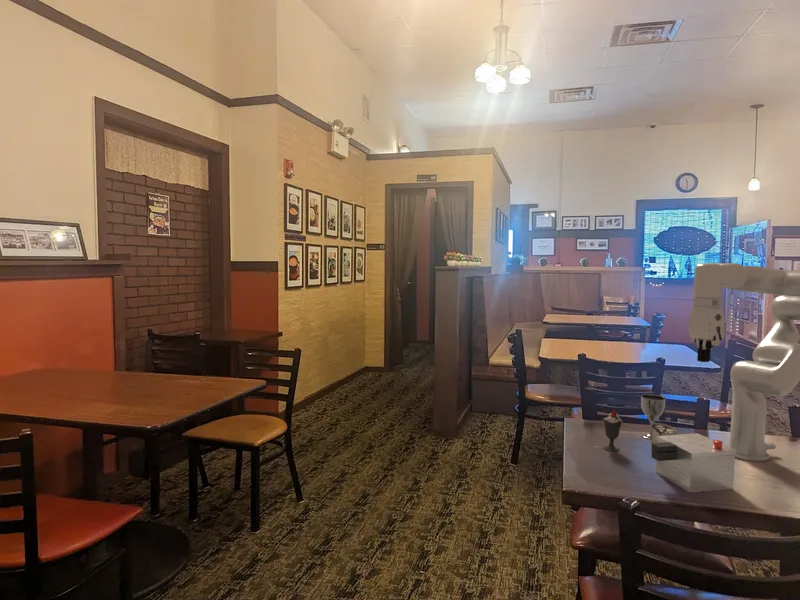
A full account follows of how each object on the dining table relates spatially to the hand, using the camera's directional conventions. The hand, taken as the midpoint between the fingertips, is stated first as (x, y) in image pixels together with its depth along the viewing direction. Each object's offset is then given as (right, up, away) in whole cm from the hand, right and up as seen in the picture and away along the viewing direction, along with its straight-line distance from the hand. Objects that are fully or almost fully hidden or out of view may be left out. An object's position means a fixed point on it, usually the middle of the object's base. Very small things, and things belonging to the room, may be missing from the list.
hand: (703, 361), depth 163 cm
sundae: (-23, -32, +14) cm, 42 cm away
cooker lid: (-12, -24, -12) cm, 29 cm away
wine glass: (-3, -31, +27) cm, 42 cm away
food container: (-8, -33, +7) cm, 35 cm away
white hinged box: (-12, -34, -11) cm, 38 cm away
